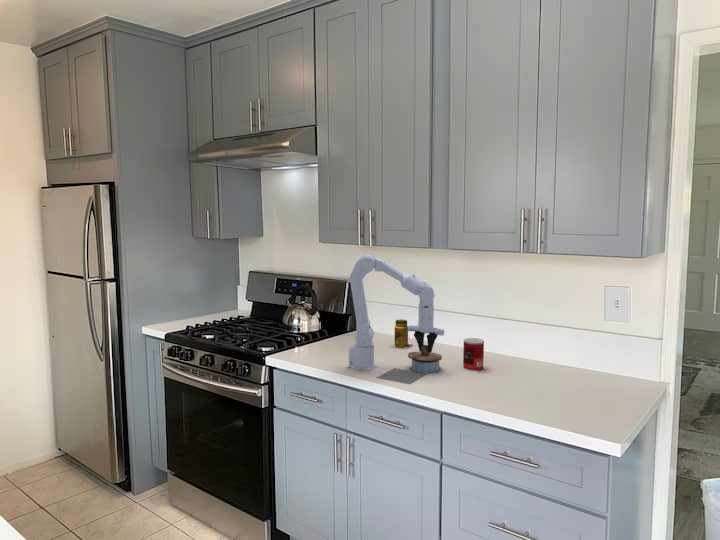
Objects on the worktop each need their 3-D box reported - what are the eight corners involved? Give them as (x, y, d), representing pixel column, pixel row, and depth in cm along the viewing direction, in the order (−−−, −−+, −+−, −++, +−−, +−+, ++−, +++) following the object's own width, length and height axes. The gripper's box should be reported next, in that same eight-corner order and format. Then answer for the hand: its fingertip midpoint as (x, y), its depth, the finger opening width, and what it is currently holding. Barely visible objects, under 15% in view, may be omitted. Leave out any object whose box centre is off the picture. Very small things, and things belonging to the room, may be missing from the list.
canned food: (483, 365, 216) (484, 338, 215) (482, 371, 208) (483, 343, 207) (464, 364, 218) (464, 337, 217) (462, 370, 210) (462, 342, 209)
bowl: (407, 370, 210) (407, 360, 209) (419, 363, 219) (419, 354, 218) (431, 374, 204) (432, 364, 204) (443, 367, 213) (443, 357, 213)
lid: (401, 357, 208) (402, 345, 208) (417, 352, 219) (417, 341, 219) (433, 362, 202) (433, 350, 201) (447, 357, 213) (447, 345, 212)
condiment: (391, 347, 245) (391, 321, 244) (398, 343, 252) (398, 317, 251) (406, 349, 242) (406, 322, 240) (413, 345, 249) (413, 319, 248)
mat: (375, 378, 200) (375, 377, 200) (394, 369, 211) (394, 368, 211) (410, 385, 192) (410, 384, 192) (427, 375, 204) (427, 374, 204)
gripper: (404, 316, 210) (403, 351, 211) (439, 320, 202) (438, 356, 204) (412, 313, 216) (412, 347, 217) (446, 317, 208) (446, 352, 209)
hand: (425, 351), depth 211 cm, fingers closed on lid, 3 cm apart
